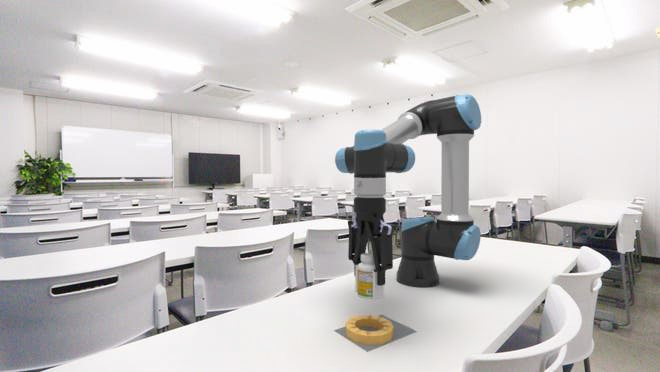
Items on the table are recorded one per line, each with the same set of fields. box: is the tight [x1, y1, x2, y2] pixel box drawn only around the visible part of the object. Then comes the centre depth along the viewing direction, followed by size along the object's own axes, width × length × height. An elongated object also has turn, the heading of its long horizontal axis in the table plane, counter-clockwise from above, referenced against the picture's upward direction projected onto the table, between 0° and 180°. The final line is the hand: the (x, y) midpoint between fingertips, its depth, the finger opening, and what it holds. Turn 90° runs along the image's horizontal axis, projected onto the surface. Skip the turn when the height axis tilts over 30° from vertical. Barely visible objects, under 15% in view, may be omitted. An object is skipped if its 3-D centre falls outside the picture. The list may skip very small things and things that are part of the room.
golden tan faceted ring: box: [344, 314, 394, 345], centre depth 77 cm, size 11×11×2 cm
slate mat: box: [334, 314, 418, 353], centre depth 78 cm, size 12×16×1 cm
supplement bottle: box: [356, 252, 375, 300], centre depth 77 cm, size 5×5×10 cm
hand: (369, 294), depth 77 cm, fingers closed on supplement bottle, 5 cm apart
